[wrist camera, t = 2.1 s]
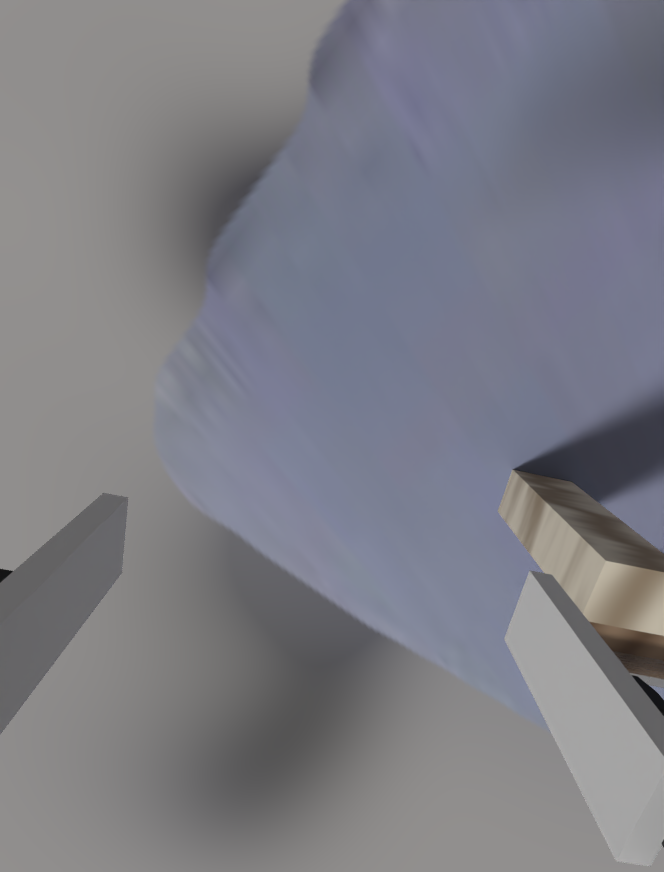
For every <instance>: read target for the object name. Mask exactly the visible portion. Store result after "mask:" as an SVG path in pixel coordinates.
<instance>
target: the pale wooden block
mask: <svg viewBox="0 0 664 872" xmlns="http://www.w3.org/2000/svg"><path fill="white" fill-rule="evenodd" d="M498 512H499V514H500V515H501V516H502V518H503V519H504V520H505V522H506V523H507V524H508V526H509V527H510V528H511V530H512V531H513V532H514V534H515V535H516V536H517V537H518V539H519V540H520V541H521V543H522V544H523V545H524V547H525V548H526V549H527V551H528V552H529V553H530V555H531V556H532V557H533V559H534V560H535V561H536V563H537V564H538V565H539V567H540V568H541V569H542V570H543V572H544V573H546V574H551V575H553V577H554V578H555V579H556V580H557V582H558V583H559V584H560V586H561V587H562V588H563V589H564V591H565V592H566V593H567V594H568V596H569V597H570V598H571V599H572V601H573V602H574V603H575V605H576V606H577V607H578V608H579V610H580V611H581V612H582V613H583V615H584V616H585V617H586V618H587V620H588V621H589V622H594V623H599V624H604V625H609V626H615V627H620V628H625V629H630V630H635V631H641V632H646V633H651V634H656V635H662V636H664V554H663V553H662V552H660V551H659V550H658V549H657V548H655V547H654V546H653V545H652V544H650V543H649V542H648V541H646V540H645V539H644V538H643V537H641V536H640V535H639V534H638V533H636V532H635V531H634V530H633V529H631V528H630V527H629V526H627V525H626V524H625V523H624V522H622V521H621V520H620V519H619V518H617V517H616V516H615V515H613V514H612V513H611V512H610V511H608V510H607V509H606V508H605V507H603V506H602V505H601V504H599V503H598V502H597V501H596V500H594V499H593V498H592V497H591V496H589V495H588V494H587V493H585V492H584V491H583V490H582V489H580V488H579V487H578V486H577V485H575V484H574V483H573V482H570V481H565V480H560V479H555V478H551V477H546V476H541V475H536V474H531V473H527V472H522V471H517V470H512V473H511V475H510V478H509V481H508V484H507V487H506V490H505V493H504V495H503V498H502V501H501V504H500V507H499V510H498Z"/></svg>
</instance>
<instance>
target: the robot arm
mask: <svg viewBox="0 0 664 872" xmlns="http://www.w3.org/2000/svg"><path fill="white" fill-rule="evenodd" d="M127 506H128V497H123V496H117V495H112V494H106V493H103V494H102V495H100V496H99V497H98V498H97V499H96V500H95V501H94V502H93V503H91V504H90V505H89V506H88V507H87V508H86V509H84V510H83V511H82V512H81V513H80V514H79V515H78V516H76V517H75V518H74V519H73V520H72V521H71V522H70V523H68V524H67V525H66V526H65V527H64V528H63V529H61V530H60V531H59V532H58V533H57V534H56V535H55V536H53V537H52V538H51V539H50V540H49V541H48V542H47V543H46V544H44V545H43V546H42V547H41V548H40V549H38V551H36V552H35V553H34V554H33V555H32V556H30V557H29V558H28V559H27V560H26V561H25V562H24V563H23V564H21V565H20V566H19V567H18V568H17V569H16V570H14V571H9V570H3V569H0V734H1V733H2V732H3V730H4V729H5V728H6V726H7V725H8V724H9V722H10V721H11V720H12V718H13V717H14V716H15V714H16V713H17V712H18V710H19V709H20V708H21V706H22V705H23V704H24V702H25V701H26V700H27V698H28V697H29V695H30V694H31V693H32V692H33V690H34V689H35V688H36V686H37V685H38V684H39V682H40V681H41V680H42V678H43V677H44V676H45V674H46V673H47V672H48V670H49V669H50V668H51V666H52V665H53V664H54V662H55V661H56V660H57V658H58V657H59V656H60V654H61V653H62V652H63V650H64V649H65V648H66V646H67V645H68V644H69V642H70V641H71V640H72V638H73V637H74V636H75V634H76V633H77V632H78V630H79V629H80V628H81V626H82V625H83V624H84V623H85V621H86V620H87V619H88V617H89V616H90V614H91V613H92V612H93V610H94V609H95V608H96V607H97V605H98V604H99V603H100V601H101V600H102V599H103V597H104V596H105V595H106V593H107V591H108V590H109V589H110V588H111V587H112V585H113V584H114V583H115V581H116V580H117V579H118V577H119V576H120V575H121V573H122V564H123V552H124V540H125V529H126V517H127ZM504 640H505V642H506V644H507V645H508V647H509V649H510V651H511V653H512V655H513V657H514V659H515V661H516V663H517V665H518V667H519V669H520V671H521V673H522V675H523V677H524V679H525V681H526V683H527V685H528V687H529V689H530V691H531V693H532V695H533V697H534V699H535V701H536V703H537V705H538V707H539V709H540V711H541V713H542V715H543V717H544V719H545V721H546V723H547V725H548V727H549V729H550V731H551V733H552V735H553V737H554V739H555V741H556V743H557V745H558V747H559V749H560V751H561V753H562V755H563V757H564V759H565V761H566V763H567V765H568V767H569V769H570V771H571V772H572V775H573V777H574V778H575V781H576V782H577V784H578V786H579V788H580V790H581V792H582V794H583V796H584V798H585V800H586V802H587V804H588V806H589V808H590V810H591V812H592V814H593V816H594V818H595V820H596V822H597V824H598V826H599V828H600V830H601V832H602V834H603V836H604V838H605V840H606V842H607V844H608V846H609V848H610V850H611V852H612V854H613V856H614V858H615V860H616V861H618V862H625V863H631V864H639V865H645V866H651V864H652V863H653V861H654V859H655V857H656V856H657V854H658V852H659V851H660V849H661V847H662V845H663V847H664V700H663V699H662V698H661V696H660V695H659V694H658V693H657V692H656V691H655V690H654V689H652V688H651V687H650V686H649V685H648V684H646V683H645V682H644V681H643V680H642V679H640V678H639V677H638V676H634V675H631V674H630V673H629V672H628V670H627V669H626V668H625V667H624V665H623V664H622V663H621V662H620V660H619V659H618V658H617V656H616V655H615V654H614V653H613V651H612V650H611V649H610V648H609V646H608V645H607V644H606V643H605V641H604V640H603V639H602V637H601V636H600V635H599V634H598V632H597V631H596V630H595V629H594V627H593V626H592V625H591V624H590V622H589V621H588V620H587V618H586V617H585V616H584V615H583V613H582V612H581V611H580V610H579V608H578V607H577V606H576V605H575V603H574V602H573V601H572V599H571V598H570V597H569V596H568V594H567V593H566V592H565V591H564V589H563V588H562V587H561V586H560V584H559V583H558V582H557V580H556V579H555V578H554V577H553V575H551V574H546V573H540V572H535V571H529V574H528V576H527V579H526V582H525V585H524V587H523V590H522V593H521V595H520V598H519V601H518V603H517V606H516V609H515V611H514V614H513V617H512V619H511V622H510V625H509V628H508V630H507V633H506V636H505V638H504Z"/></svg>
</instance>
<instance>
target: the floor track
mask: <svg viewBox="0 0 664 872" xmlns="http://www.w3.org/2000/svg"><path fill="white" fill-rule="evenodd" d="M590 624H591V625H592V626H593V627H594V629H595V630H596V631H597V632H598V634H599V635H600V636H601V637H602V639H603V640H604V641H605V643H606V644H607V645H608V646H609V648H610V649H611V650H612V651H613V653H614V654H615V655H616V656H617V658H618V659H619V660H620V662H621V663H622V664H623V665H624V667H625V668H626V669H627V670H628V672H629V673H630V674H631V675H634V676H638V677H639V678H640V679H642V680H643V681H644V682H645V683H646V684H648V685H651V686H656V687H662V688H664V636H662V635H656V634H651V633H646V632H641V631H635V630H630V629H625V628H620V627H615V626H609V625H604V624H599V623H594V622H590Z"/></svg>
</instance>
